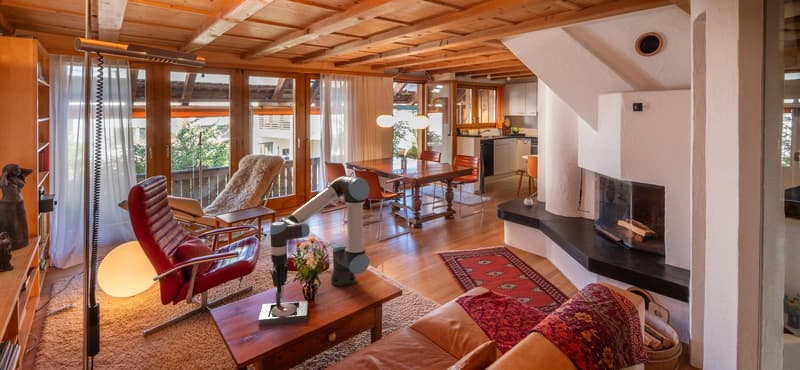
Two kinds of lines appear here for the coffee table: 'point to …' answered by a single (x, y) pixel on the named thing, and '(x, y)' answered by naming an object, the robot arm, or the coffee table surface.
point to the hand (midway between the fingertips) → (280, 297)
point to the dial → (283, 308)
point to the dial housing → (268, 319)
